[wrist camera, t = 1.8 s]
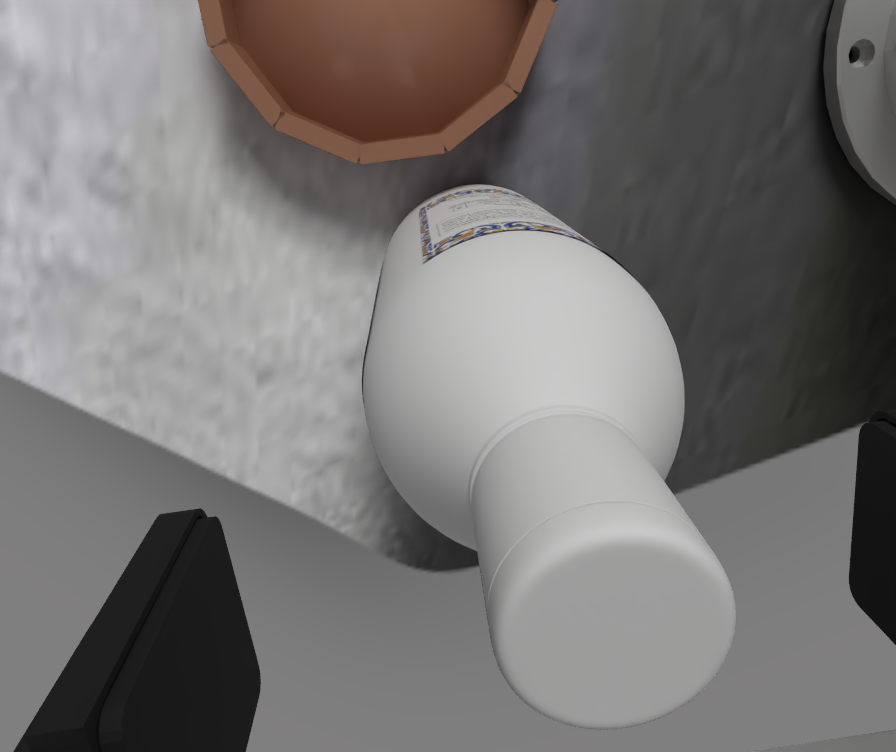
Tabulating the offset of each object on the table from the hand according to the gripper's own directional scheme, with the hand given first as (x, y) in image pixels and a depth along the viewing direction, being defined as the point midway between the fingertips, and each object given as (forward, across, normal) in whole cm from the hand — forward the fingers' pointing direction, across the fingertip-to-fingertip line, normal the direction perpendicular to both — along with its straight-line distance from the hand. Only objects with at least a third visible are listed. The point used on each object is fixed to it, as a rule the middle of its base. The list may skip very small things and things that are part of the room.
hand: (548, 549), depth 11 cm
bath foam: (+18, -1, 0) cm, 18 cm away
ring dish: (+18, +1, -10) cm, 21 cm away
